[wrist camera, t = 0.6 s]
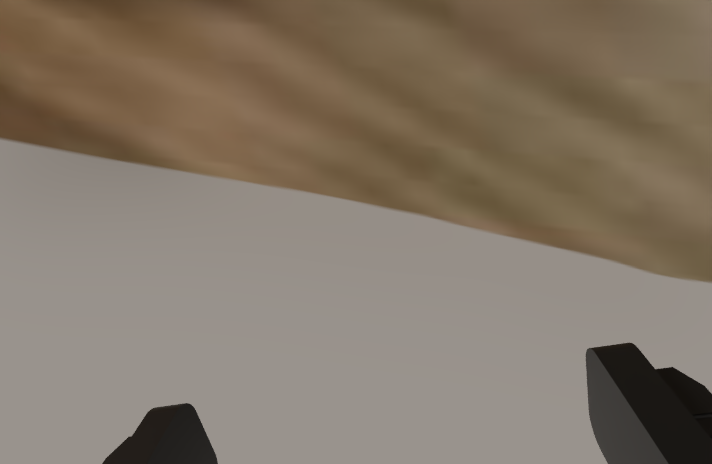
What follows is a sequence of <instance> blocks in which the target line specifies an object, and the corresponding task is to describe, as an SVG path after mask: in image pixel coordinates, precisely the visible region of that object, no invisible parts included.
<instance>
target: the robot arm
mask: <svg viewBox="0 0 712 464" xmlns="http://www.w3.org/2000/svg"><path fill="white" fill-rule="evenodd" d="M586 369H587V386H588V403H589V415H590V420H591V424H592V428H593V431H594V435H595V438H596V440H597V443H598V445H599V447H600V449H601V451H602V453H603V455H604V457H605V459H606V461H607V462H608V464H712V394H711V393H710V392H709V391H708V390H707V388H706V387H705V386H704V385H702V384H700V383H698V382H697V381H695V380H693V379H692V378H690V377H688V376H687V375H685V374H683V373H682V372H680V371H678V370H677V369H675V368H673V367H671V368H663V369H654V367H653V366H652V365H651V364H650V363H649V361H648V360H647V359H646V358H645V356H644V355H643V354H642V353H641V351H640V350H639V349H638V348H637V347H636V346H635V345H634V344H632V343H624V344H617V345H610V346H602V347H595V348H589V349H587V352H586ZM103 464H218V463H217V458H216V455H215V452H214V450H213V448H212V446H211V443H210V441H209V439H208V437H207V435H206V432H205V430H204V428H203V426H202V423H201V421H200V419H199V417H198V415H197V412H196V410H195V408H194V407H193V406H192V405H191V404H187V403H186V404H178V405H171V406H164V407H157V408H153V409H151V410H150V411H149V412H148V413H147V414H146V416H145V417H144V419H143V420H142V422H141V424H140V425H139V426H138V428H137V430H136V431H135V433H134V434H133V436H132V437H128V438H127V439H126V440H125V441H124V442H123V443H122V444H121V445H120V446H119V447H118V448H117V449H115V450H114V451H113V452H112V453H111V454H110V455H109V456H108V457H107V458H106V459H105V461H104V462H103Z"/></svg>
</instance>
